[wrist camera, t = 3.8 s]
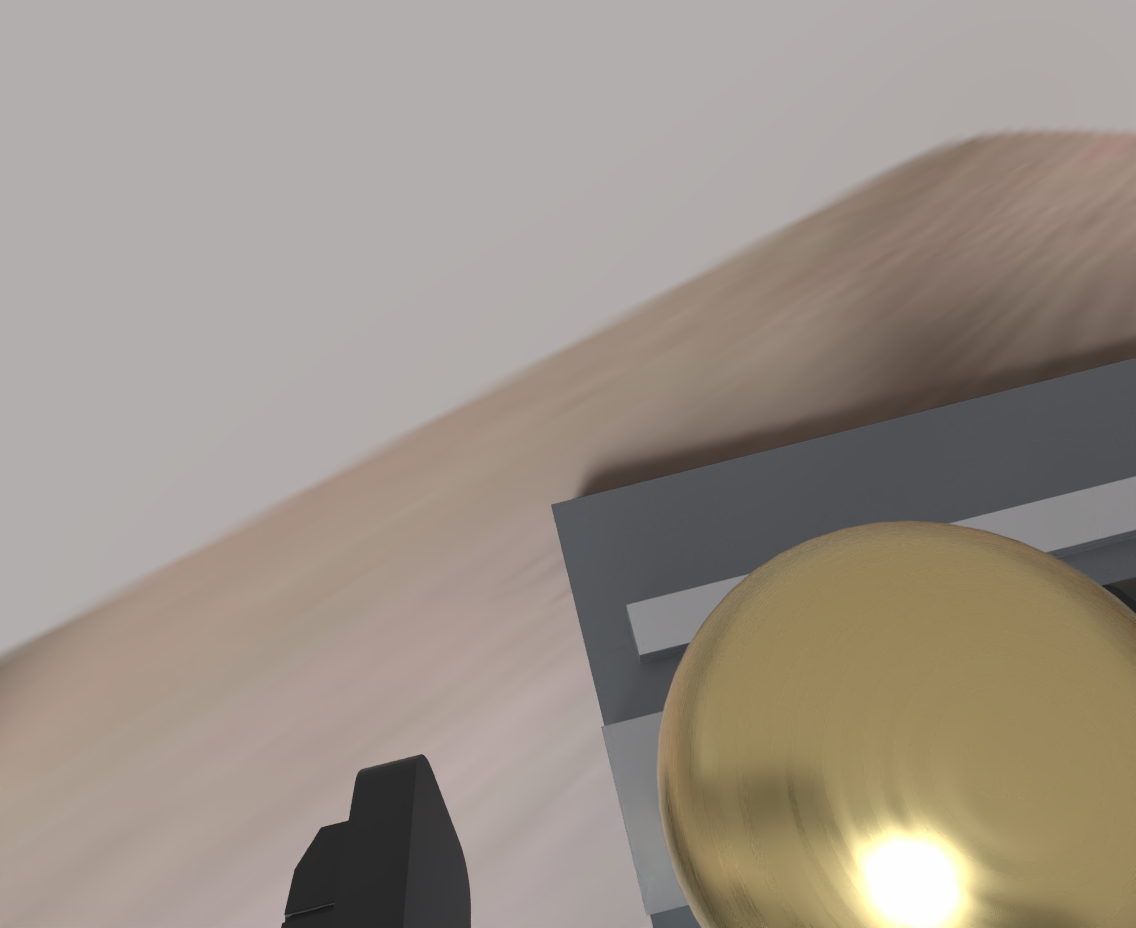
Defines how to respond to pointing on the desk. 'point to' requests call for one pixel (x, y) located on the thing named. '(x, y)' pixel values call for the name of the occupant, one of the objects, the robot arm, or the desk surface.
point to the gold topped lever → (894, 743)
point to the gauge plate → (846, 516)
